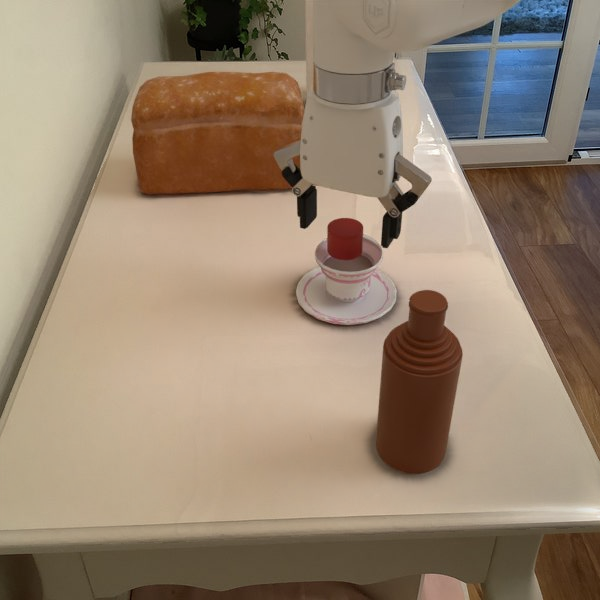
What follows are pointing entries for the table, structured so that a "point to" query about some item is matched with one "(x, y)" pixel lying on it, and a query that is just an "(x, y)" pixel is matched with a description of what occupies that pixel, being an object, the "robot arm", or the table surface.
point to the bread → (214, 131)
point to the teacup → (347, 287)
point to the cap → (344, 238)
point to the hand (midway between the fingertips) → (347, 232)
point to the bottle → (418, 387)
